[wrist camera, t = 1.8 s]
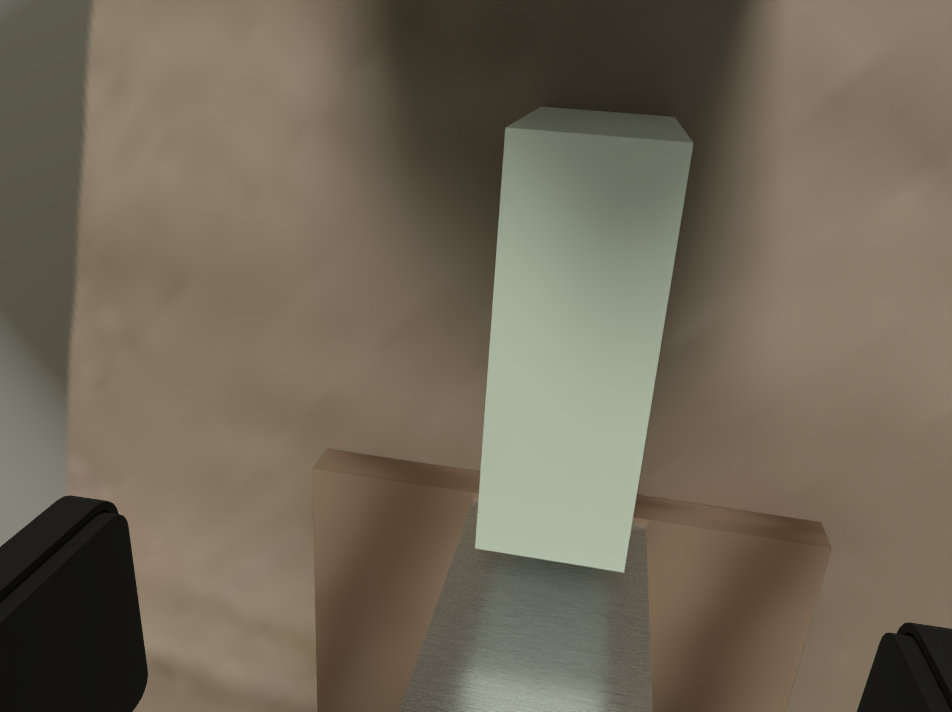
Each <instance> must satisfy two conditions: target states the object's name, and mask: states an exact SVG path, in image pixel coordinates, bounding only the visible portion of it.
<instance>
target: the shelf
mask: <svg viewBox="0 0 952 712" xmlns="http://www.w3.org/2000/svg"><path fill="white" fill-rule="evenodd" d="M312 473H313V519H314V565H315V611H316V657H317V703H318V712H786V708H787V704H788V701H789V697H790V694H791V690H792V687H793V683H794V680H795V676H796V672H797V669H798V665H799V662H800V658H801V655H802V651H803V647H804V644H805V640H806V637H807V633H808V630H809V626H810V623H811V619H812V615H813V612H814V608H815V605H816V601H817V598H818V594H819V590H820V587H821V583H822V580H823V576H824V573H825V569H826V566H827V562H828V558H829V555H830V551H831V545H830V543H829V541H828V538H827V536H826V533H825V531H824V528H823V526H822V523H821V522H815V521H808V520H801V519H795V518H788V517H781V516H774V515H768V514H761V513H754V512H747V511H741V510H734V509H727V508H720V507H714V506H707V505H700V504H693V503H687V502H680V501H673V500H667V499H660V498H653V497H646V496H640V495H637V496H636V502H635V508H634V514H633V520H632V527H631V533H630V539H629V545H628V551H627V558H626V564H625V570H624V573H623V572H617V571H611V570H605V569H599V568H593V567H586V566H580V565H574V564H568V563H562V562H556V561H550V560H544V559H537V558H531V557H525V556H519V555H513V554H507V553H501V552H494V551H488V550H482V549H476V548H475V542H476V528H477V514H478V500H479V486H480V472H478V471H471V470H464V469H458V468H451V467H444V466H437V465H431V464H424V463H417V462H411V461H404V460H397V459H390V458H384V457H377V456H370V455H363V454H357V453H350V452H343V451H336V450H330V449H327V450H326V451H325V453H324V454H323V455H322V457H321V458H320V459H319V461H318V462H317V463H316V464H315V466H314V467H313V468H312Z"/></svg>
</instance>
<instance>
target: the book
mask: <svg viewBox="0 0 952 712" xmlns="http://www.w3.org/2000/svg"><path fill="white" fill-rule="evenodd" d="M692 150H693V141H692V140H691V139H690V137H689V136H688V135H687V133H686V132H685V130H684V129H683V128H682V126H681V125H680V124H679V122H678V121H677V120H676V118H675V117H671V116H658V115H645V114H632V113H619V112H606V111H593V110H580V109H567V108H554V107H539V108H538V109H536V110H534V111H533V112H531V113H529V114H528V115H526V116H524V117H522V118H521V119H519V120H517V121H516V122H514V123H512V124H511V125H509V126H507V127H506V128H505V141H504V154H503V168H502V182H501V196H500V210H499V223H498V237H497V251H496V265H495V279H494V293H493V306H492V320H491V334H490V348H489V362H488V376H487V389H486V403H485V417H484V431H483V445H482V459H481V472H480V486H479V500H478V514H477V528H476V542H475V548H476V549H482V550H488V551H494V552H501V553H507V554H513V555H519V556H525V557H531V558H537V559H544V560H550V561H556V562H562V563H568V564H574V565H580V566H586V567H593V568H599V569H605V570H611V571H617V572H623V573H624V570H625V564H626V558H627V551H628V545H629V539H630V533H631V527H632V520H633V514H634V508H635V502H636V496H637V490H638V483H639V477H640V471H641V465H642V459H643V452H644V446H645V440H646V434H647V428H648V422H649V415H650V409H651V403H652V397H653V391H654V384H655V378H656V372H657V366H658V360H659V354H660V347H661V341H662V335H663V329H664V323H665V317H666V310H667V304H668V298H669V292H670V286H671V279H672V273H673V267H674V261H675V255H676V249H677V242H678V236H679V230H680V224H681V218H682V211H683V205H684V199H685V193H686V187H687V181H688V174H689V168H690V162H691V156H692Z"/></svg>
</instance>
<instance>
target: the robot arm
mask: <svg viewBox="0 0 952 712" xmlns="http://www.w3.org/2000/svg"><path fill="white" fill-rule="evenodd" d="M147 678H148V670H147V662H146V655H145V647H144V640H143V632H142V625H141V617H140V610H139V602H138V595H137V587H136V580H135V572H134V565H133V557H132V550H131V542H130V535H129V527H128V523H127V520H126V518H125V517H124V516H122V515H119V514H118V511H117V508H116V507H115V505H114V504H113V503H111V502H109V501H103V500H97V499H90V498H83V497H77V496H64V497H62V498H61V499H59V500H58V501H56V502H55V503H54V504H52V505H51V506H50V507H49V508H47V509H46V510H45V511H44V512H42V513H41V514H40V515H39V516H38V517H36V518H35V519H34V520H33V521H31V522H30V523H29V524H28V525H27V526H26V527H24V528H23V529H22V530H20V531H19V532H18V533H17V534H16V535H14V536H13V537H12V538H11V539H9V540H8V541H7V542H6V543H5V544H3V545H2V546H1V547H0V712H132V711H133V710H134V709H135V707H136V706H137V704H138V703H139V701H140V700H141V698H142V696H143V693H144V691H145V687H146V684H147ZM857 712H952V629H949V628H942V627H935V626H929V625H922V624H916V623H904V624H903V625H902V626H901V627H900V628H899V630H898V632H897V634H895V633H886V634H885V635H884V636H883V637H882V639H881V641H880V644H879V647H878V650H877V653H876V656H875V659H874V662H873V665H872V668H871V671H870V674H869V677H868V680H867V683H866V686H865V689H864V692H863V695H862V698H861V701H860V704H859V707H858V710H857Z"/></svg>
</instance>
